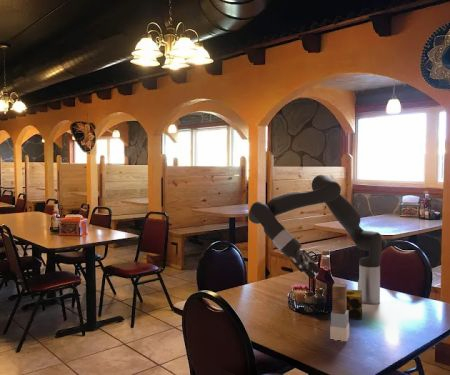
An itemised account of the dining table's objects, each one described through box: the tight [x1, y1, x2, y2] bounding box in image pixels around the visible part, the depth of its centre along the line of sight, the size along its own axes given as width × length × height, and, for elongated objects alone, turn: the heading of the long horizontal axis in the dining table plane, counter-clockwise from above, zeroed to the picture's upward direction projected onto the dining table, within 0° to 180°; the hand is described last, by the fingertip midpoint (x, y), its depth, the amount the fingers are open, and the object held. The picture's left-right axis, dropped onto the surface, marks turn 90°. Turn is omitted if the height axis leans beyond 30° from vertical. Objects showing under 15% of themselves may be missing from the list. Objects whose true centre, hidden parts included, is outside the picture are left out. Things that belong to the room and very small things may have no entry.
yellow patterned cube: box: [347, 289, 363, 321], centre depth 186 cm, size 10×10×10 cm
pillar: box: [331, 282, 348, 314], centre depth 161 cm, size 4×4×10 cm
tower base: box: [329, 322, 350, 342], centre depth 162 cm, size 6×6×5 cm
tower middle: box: [330, 309, 350, 328], centre depth 161 cm, size 6×6×5 cm
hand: (316, 275), depth 164 cm, fingers open, 8 cm apart
